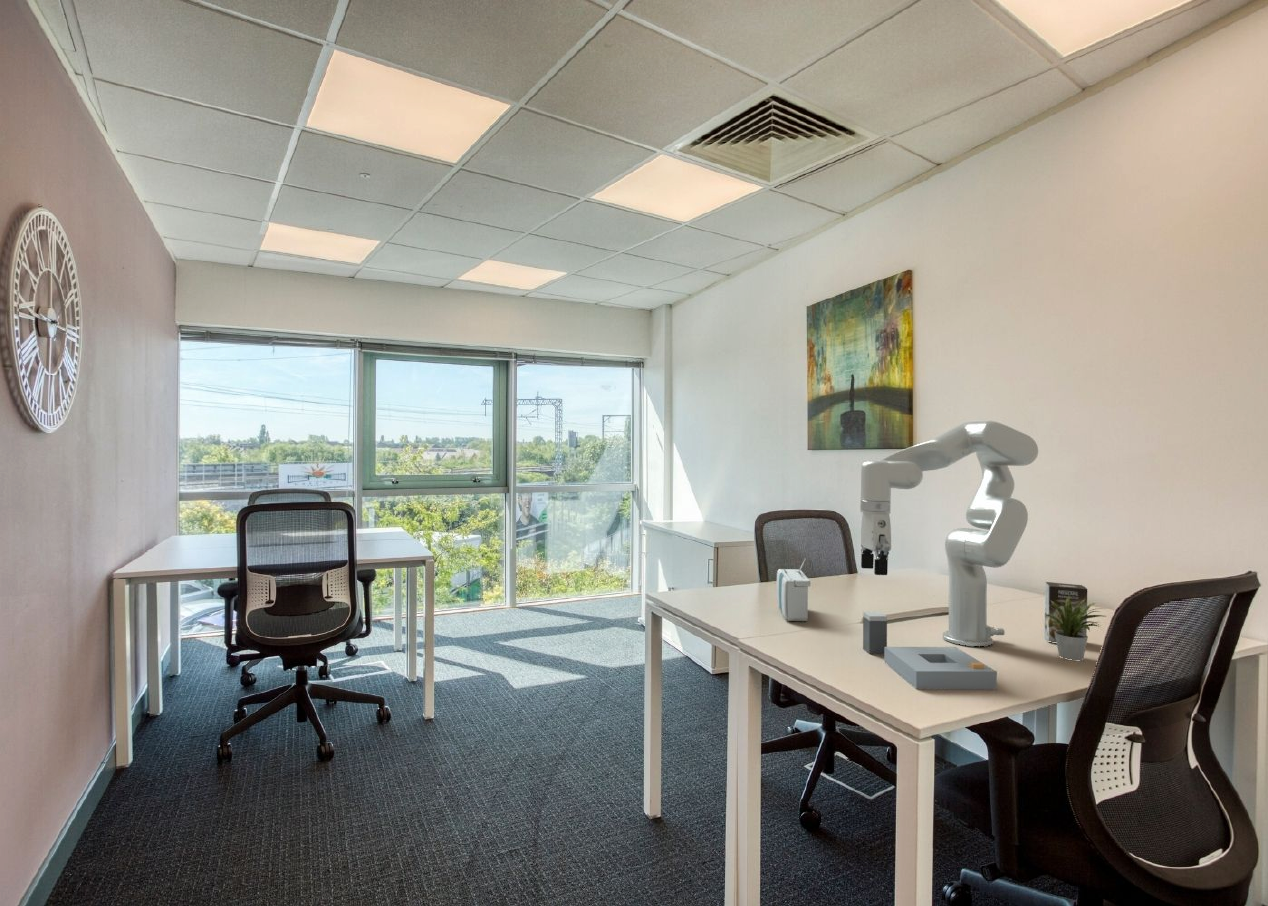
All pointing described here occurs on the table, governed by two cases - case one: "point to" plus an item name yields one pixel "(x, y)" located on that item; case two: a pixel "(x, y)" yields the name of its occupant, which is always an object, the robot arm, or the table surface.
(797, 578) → the stereo radio cassette player
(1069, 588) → the coffee box
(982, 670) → the socket
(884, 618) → the plug
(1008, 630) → the table surface
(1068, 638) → the house plant
